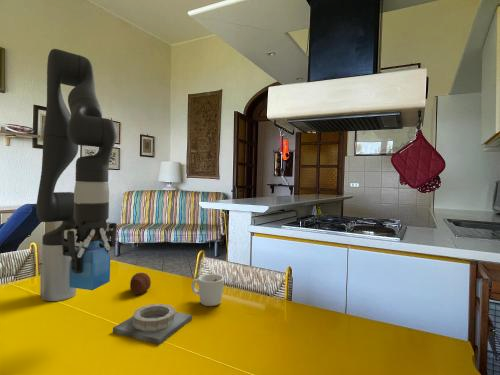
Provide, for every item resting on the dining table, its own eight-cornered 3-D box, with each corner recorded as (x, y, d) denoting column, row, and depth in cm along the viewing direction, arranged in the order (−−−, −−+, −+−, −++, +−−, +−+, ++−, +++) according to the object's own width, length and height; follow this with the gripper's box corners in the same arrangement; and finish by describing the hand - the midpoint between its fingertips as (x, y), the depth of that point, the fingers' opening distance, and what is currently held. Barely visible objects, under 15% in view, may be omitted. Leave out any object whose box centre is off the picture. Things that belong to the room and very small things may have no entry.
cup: (184, 304, 95) (185, 278, 95) (198, 295, 103) (198, 271, 102) (215, 310, 91) (216, 283, 91) (227, 300, 99) (228, 275, 98)
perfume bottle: (92, 290, 72) (93, 239, 71) (69, 287, 73) (70, 236, 72) (109, 281, 78) (110, 234, 77) (88, 278, 79) (89, 232, 79)
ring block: (112, 332, 77) (113, 318, 77) (150, 310, 90) (150, 298, 90) (159, 344, 72) (159, 329, 72) (191, 319, 85) (192, 306, 85)
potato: (123, 295, 101) (123, 276, 101) (136, 286, 110) (137, 268, 110) (143, 297, 100) (144, 277, 100) (155, 287, 109) (155, 269, 109)
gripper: (103, 197, 83) (102, 259, 83) (52, 201, 69) (51, 274, 70) (126, 199, 80) (124, 263, 81) (76, 203, 66) (75, 280, 67)
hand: (90, 268), depth 75 cm, fingers closed on perfume bottle, 6 cm apart
